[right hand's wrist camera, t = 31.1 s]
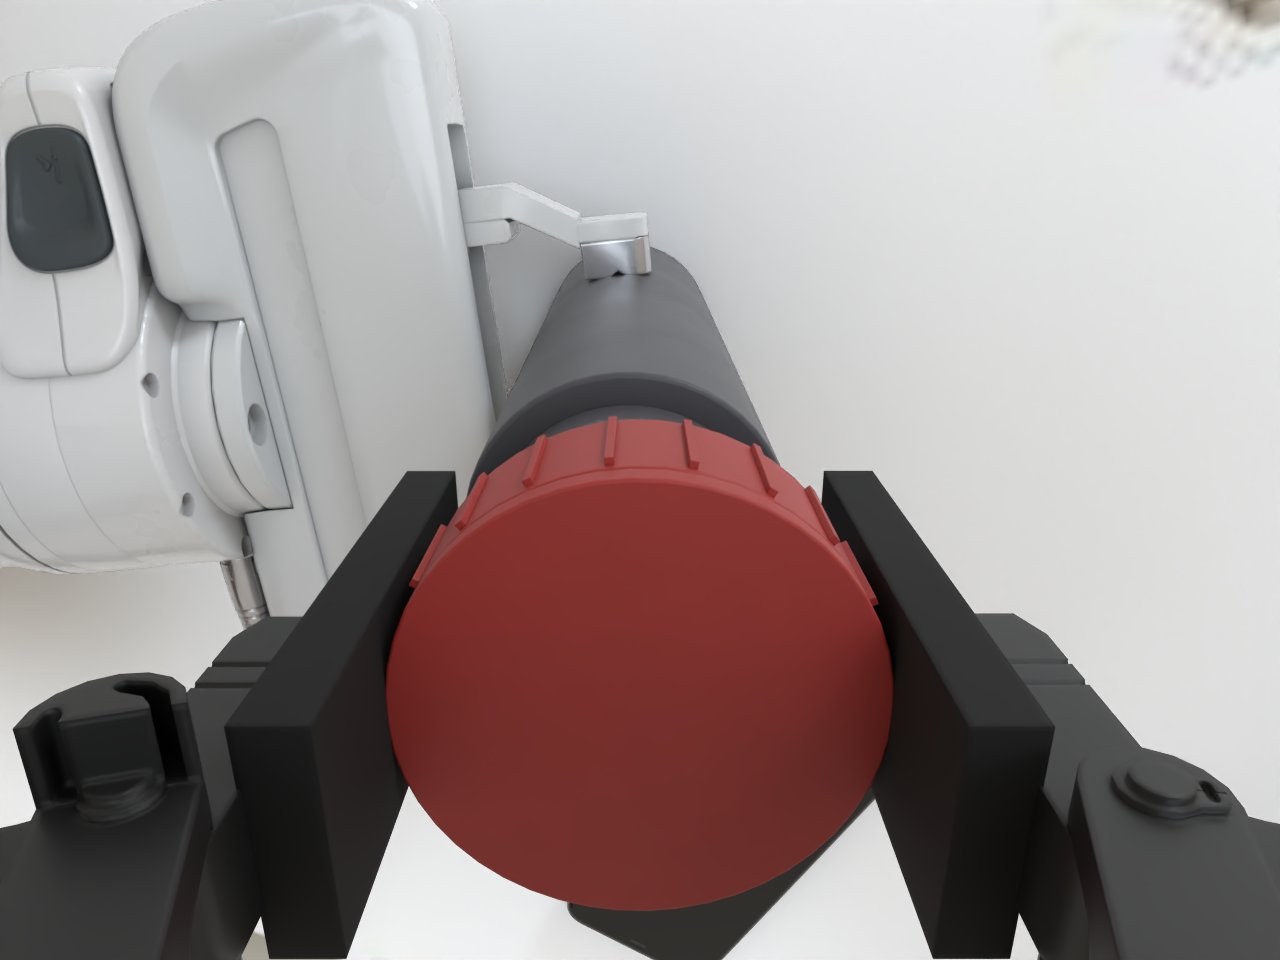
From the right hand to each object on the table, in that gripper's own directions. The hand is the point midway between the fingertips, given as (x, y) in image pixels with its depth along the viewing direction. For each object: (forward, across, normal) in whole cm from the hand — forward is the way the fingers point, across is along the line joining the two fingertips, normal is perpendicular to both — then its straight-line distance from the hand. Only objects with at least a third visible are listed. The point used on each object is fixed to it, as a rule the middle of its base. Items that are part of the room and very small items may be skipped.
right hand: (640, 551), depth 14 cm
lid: (-4, 0, 0) cm, 4 cm away
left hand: (+12, -1, 0) cm, 12 cm away
